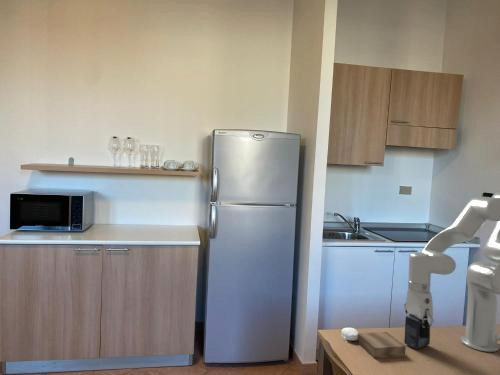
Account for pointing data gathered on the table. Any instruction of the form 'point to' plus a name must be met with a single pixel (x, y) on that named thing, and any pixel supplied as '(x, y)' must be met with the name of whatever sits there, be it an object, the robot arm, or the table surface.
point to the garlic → (349, 334)
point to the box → (414, 333)
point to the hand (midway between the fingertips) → (417, 332)
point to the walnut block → (381, 345)
